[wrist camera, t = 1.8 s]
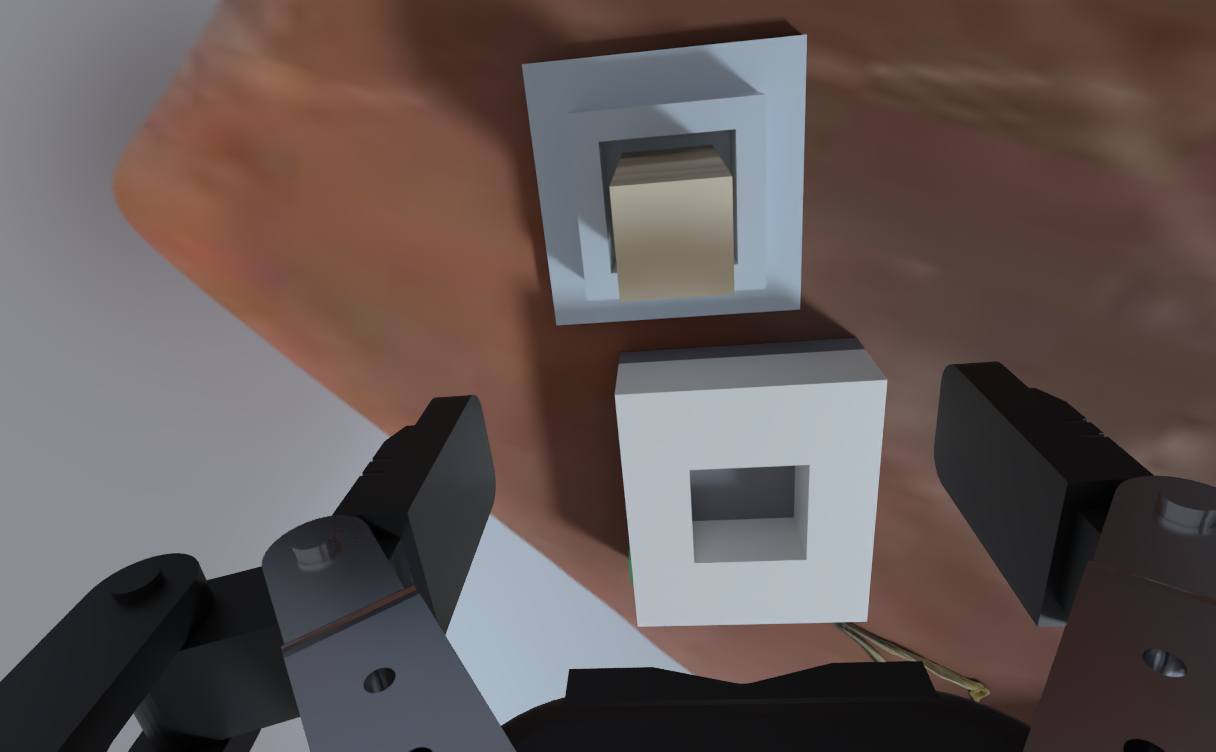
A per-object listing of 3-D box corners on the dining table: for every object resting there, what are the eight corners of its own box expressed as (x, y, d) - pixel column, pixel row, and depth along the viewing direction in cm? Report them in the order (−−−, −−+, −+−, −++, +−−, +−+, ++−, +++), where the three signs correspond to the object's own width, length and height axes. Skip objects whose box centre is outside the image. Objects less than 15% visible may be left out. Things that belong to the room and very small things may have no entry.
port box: (614, 352, 36) (608, 395, 31) (856, 337, 34) (887, 379, 30) (635, 564, 41) (632, 626, 37) (843, 558, 40) (866, 621, 36)
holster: (524, 64, 30) (510, 64, 27) (803, 35, 29) (819, 32, 26) (558, 319, 35) (549, 344, 32) (796, 304, 34) (810, 327, 31)
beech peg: (622, 152, 31) (609, 186, 22) (712, 144, 30) (732, 176, 22) (629, 240, 32) (619, 302, 24) (714, 234, 32) (734, 294, 24)
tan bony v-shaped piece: (834, 590, 42) (843, 615, 40) (987, 674, 45) (1001, 700, 43) (791, 630, 44) (797, 656, 42) (940, 709, 46) (952, 736, 45)
